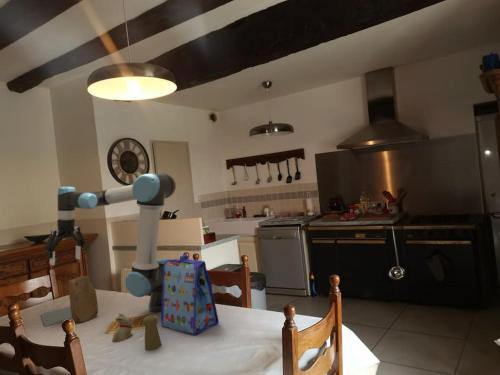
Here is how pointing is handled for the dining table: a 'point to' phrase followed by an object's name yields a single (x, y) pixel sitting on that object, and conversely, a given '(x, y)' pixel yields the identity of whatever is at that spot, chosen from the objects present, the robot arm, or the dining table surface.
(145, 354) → the dining table surface
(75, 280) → the block
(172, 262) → the lunch bag
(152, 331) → the cork
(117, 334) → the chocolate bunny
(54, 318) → the mat
